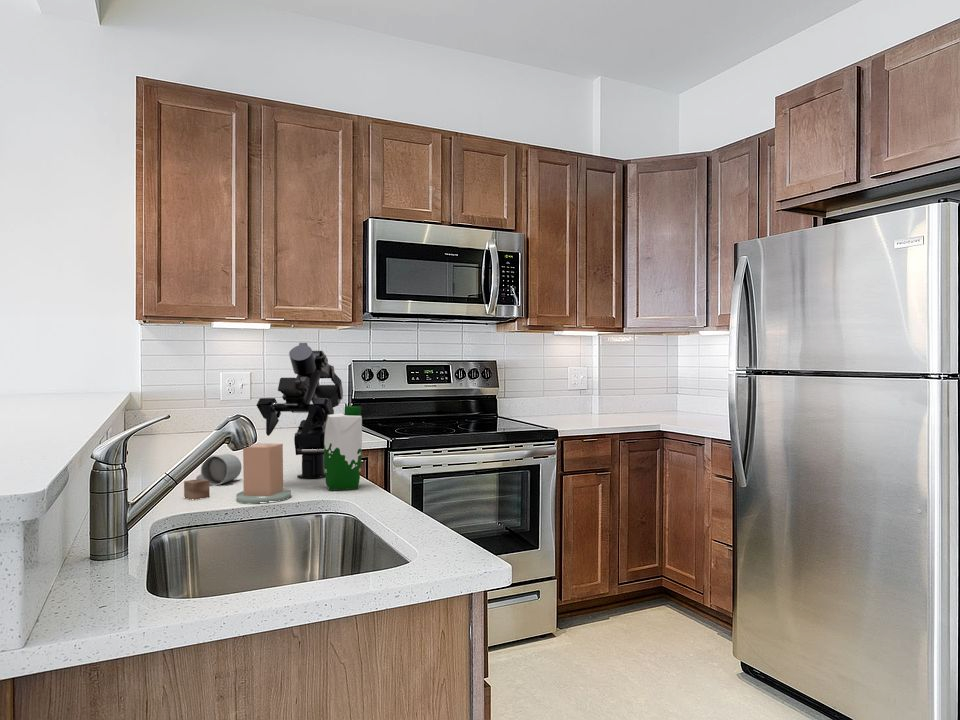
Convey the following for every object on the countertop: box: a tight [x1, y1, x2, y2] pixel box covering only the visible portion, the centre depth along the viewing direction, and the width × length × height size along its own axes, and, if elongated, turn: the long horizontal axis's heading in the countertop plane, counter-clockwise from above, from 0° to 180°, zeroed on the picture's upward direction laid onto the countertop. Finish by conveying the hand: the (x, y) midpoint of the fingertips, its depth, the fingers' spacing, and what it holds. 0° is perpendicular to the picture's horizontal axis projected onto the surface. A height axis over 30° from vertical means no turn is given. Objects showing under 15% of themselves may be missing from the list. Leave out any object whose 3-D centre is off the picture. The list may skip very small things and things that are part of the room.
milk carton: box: [323, 405, 363, 491], centre depth 160 cm, size 9×9×20 cm
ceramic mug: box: [195, 453, 243, 486], centre depth 169 cm, size 11×8×8 cm
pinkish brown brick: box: [242, 442, 284, 496], centre depth 149 cm, size 6×6×11 cm
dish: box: [235, 487, 292, 504], centre depth 149 cm, size 12×12×1 cm
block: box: [183, 478, 211, 500], centre depth 150 cm, size 4×4×4 cm
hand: (284, 434), depth 157 cm, fingers open, 9 cm apart
